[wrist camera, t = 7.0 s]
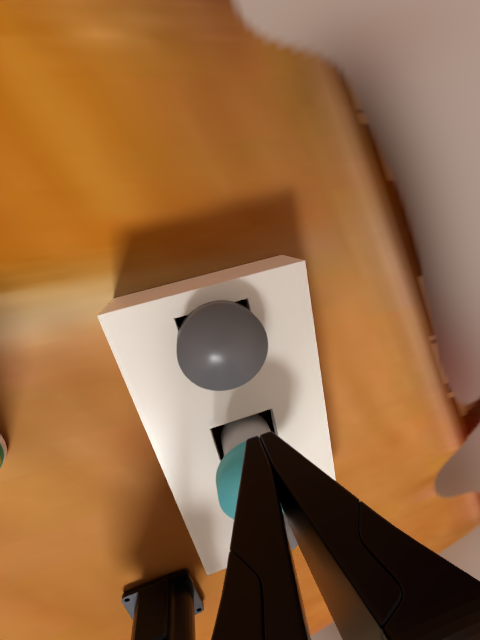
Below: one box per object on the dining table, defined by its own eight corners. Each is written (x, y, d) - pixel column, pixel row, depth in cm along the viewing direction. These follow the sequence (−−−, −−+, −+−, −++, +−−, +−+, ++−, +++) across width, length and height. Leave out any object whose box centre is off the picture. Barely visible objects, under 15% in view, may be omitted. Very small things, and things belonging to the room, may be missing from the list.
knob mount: (320, 483, 28) (341, 522, 24) (203, 527, 27) (207, 575, 23) (281, 254, 20) (304, 260, 17) (113, 298, 19) (96, 315, 15)
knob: (255, 345, 21) (275, 375, 17) (188, 365, 21) (191, 402, 16) (240, 279, 20) (258, 294, 15) (167, 299, 19) (163, 320, 15)
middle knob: (284, 449, 22) (310, 504, 17) (219, 471, 21) (229, 534, 17) (272, 393, 20) (298, 439, 16) (201, 416, 19) (207, 471, 15)
